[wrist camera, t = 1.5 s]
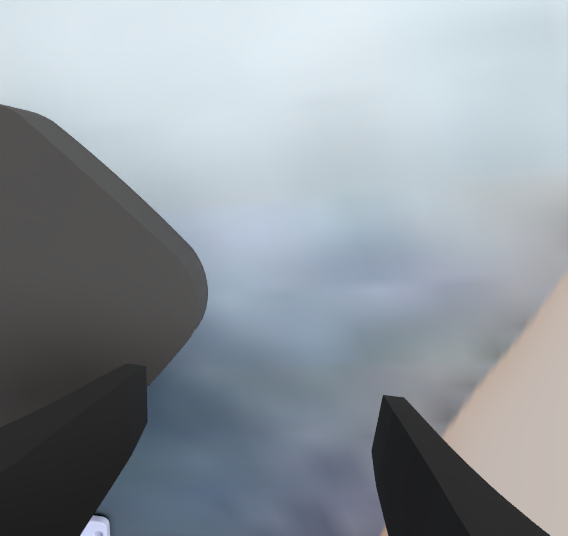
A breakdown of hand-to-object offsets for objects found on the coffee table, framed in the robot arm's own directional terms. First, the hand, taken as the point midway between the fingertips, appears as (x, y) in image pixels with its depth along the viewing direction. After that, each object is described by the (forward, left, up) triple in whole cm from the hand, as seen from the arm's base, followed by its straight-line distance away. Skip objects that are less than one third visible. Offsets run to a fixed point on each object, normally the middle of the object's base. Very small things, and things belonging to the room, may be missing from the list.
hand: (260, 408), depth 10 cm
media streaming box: (0, +12, -8) cm, 15 cm away
